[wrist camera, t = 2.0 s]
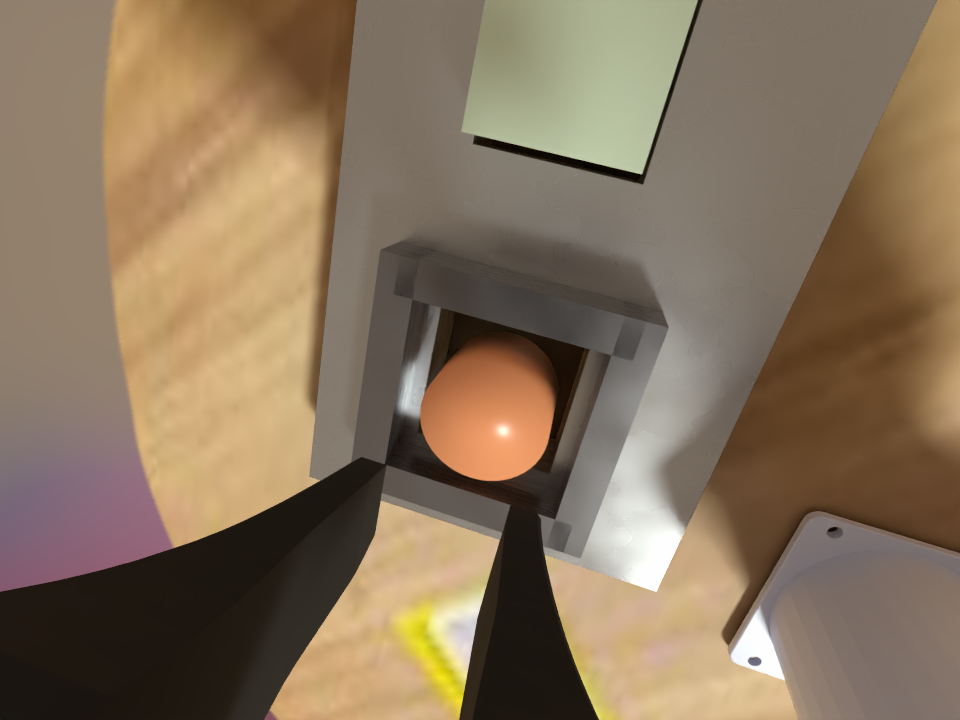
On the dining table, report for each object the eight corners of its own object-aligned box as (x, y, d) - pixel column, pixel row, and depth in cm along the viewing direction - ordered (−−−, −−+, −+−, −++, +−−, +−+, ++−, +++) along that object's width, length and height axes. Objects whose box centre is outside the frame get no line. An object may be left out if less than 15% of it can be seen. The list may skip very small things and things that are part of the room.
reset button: (572, 350, 18) (566, 384, 15) (541, 449, 19) (530, 497, 16) (457, 317, 18) (432, 345, 15) (437, 417, 20) (410, 458, 17)
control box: (952, -127, 13) (1095, -243, 9) (650, 545, 22) (660, 629, 18) (418, -210, 15) (352, -338, 11) (338, 445, 23) (285, 501, 20)
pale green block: (689, -6, 14) (715, -56, 10) (634, 170, 15) (641, 174, 12) (526, -37, 14) (502, -95, 11) (490, 136, 16) (461, 131, 13)
